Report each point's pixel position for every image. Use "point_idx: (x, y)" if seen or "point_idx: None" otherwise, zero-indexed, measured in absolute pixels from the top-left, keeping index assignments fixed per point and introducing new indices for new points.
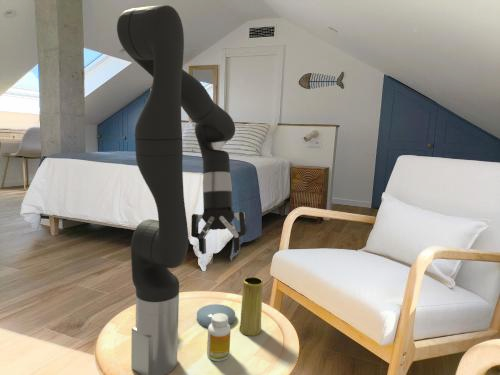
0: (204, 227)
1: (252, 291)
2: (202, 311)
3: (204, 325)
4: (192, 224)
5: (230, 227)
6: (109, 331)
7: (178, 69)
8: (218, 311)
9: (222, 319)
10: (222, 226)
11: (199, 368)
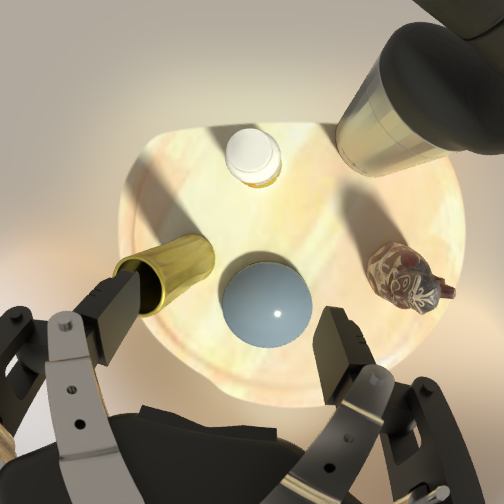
0: (367, 437)
1: (147, 253)
2: (299, 316)
3: (292, 269)
4: (461, 451)
5: (60, 373)
6: (460, 248)
7: None
8: (261, 317)
9: (241, 138)
10: (148, 431)
11: (292, 127)
